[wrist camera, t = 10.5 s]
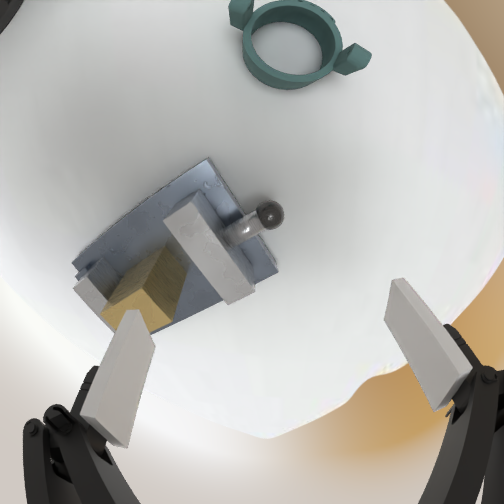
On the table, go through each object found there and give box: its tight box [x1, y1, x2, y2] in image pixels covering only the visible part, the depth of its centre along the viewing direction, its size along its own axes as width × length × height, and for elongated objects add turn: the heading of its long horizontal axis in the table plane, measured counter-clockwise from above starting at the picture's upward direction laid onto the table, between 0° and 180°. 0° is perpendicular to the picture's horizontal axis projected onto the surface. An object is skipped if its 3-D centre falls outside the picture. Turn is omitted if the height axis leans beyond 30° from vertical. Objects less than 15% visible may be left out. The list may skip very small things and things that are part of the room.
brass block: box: [100, 246, 187, 333], centre depth 25 cm, size 4×6×8 cm, turn 120°
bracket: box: [228, 0, 372, 90], centre depth 17 cm, size 9×9×9 cm
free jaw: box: [163, 189, 284, 305], centre depth 25 cm, size 10×9×4 cm
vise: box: [72, 157, 278, 335], centre depth 28 cm, size 14×21×6 cm, turn 121°
